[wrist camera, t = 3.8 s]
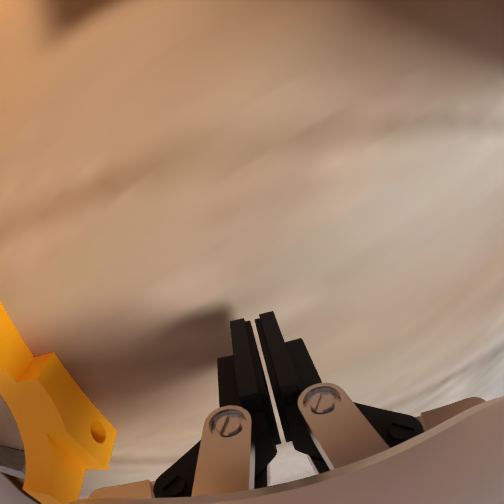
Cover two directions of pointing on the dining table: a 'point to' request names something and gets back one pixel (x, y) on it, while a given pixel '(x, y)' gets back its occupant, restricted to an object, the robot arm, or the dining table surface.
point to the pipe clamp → (51, 420)
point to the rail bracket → (12, 462)
